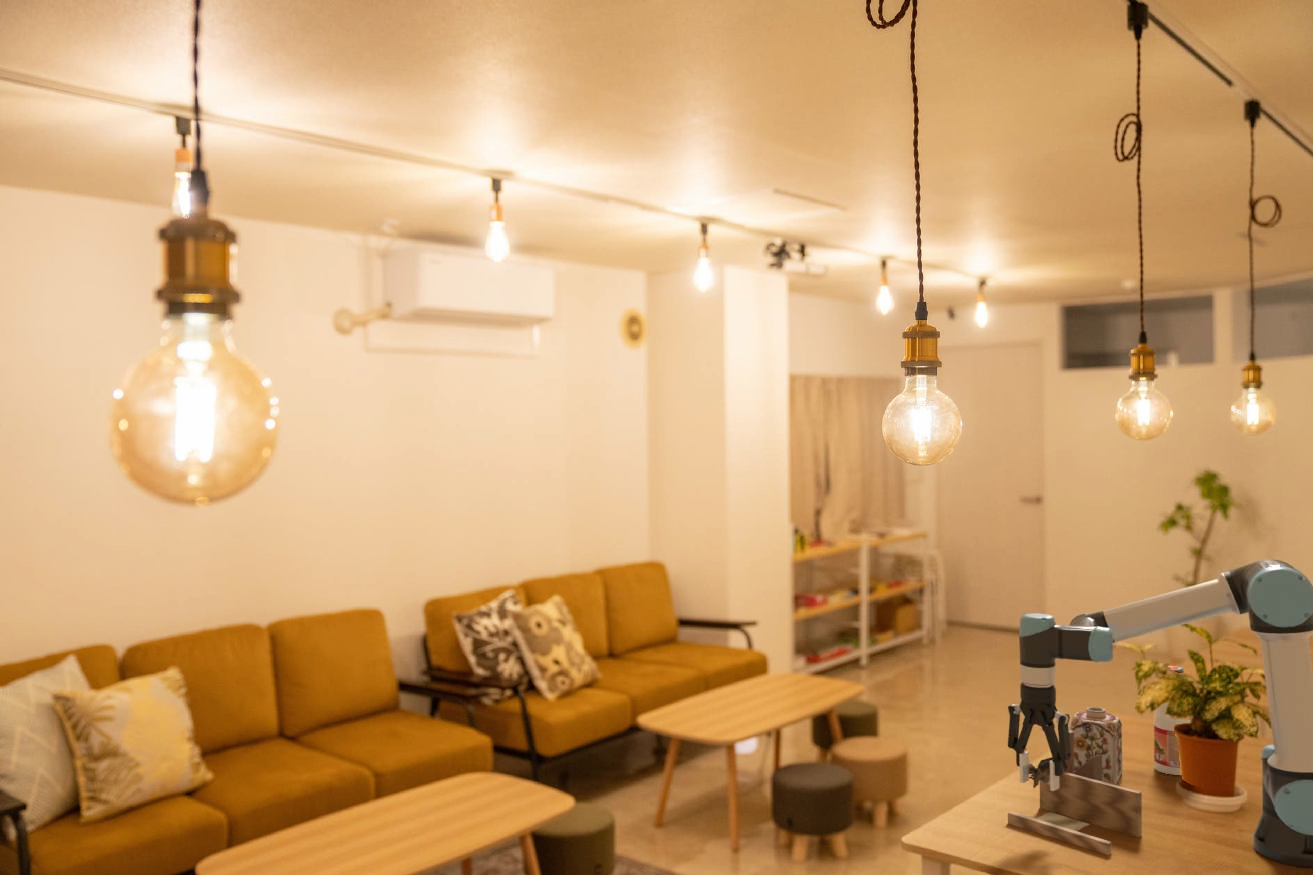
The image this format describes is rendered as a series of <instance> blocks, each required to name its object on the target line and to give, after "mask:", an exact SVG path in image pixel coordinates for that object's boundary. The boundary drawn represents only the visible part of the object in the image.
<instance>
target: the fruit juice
mask: <svg viewBox="0 0 1313 875" xmlns="http://www.w3.org/2000/svg"><path fill="white" fill-rule="evenodd" d="M1167 666H1168V667H1170V669H1171V670H1173V671H1175V672H1177V673H1179V674H1183V675H1184V668H1183V667H1181V666H1176V665H1167ZM1166 708H1167V705H1166V704H1163V705H1162V706H1160V707H1159V708H1158V709H1157V708H1156V712H1154V718H1153V720H1154V721H1153V728H1154V729H1153V734H1154V735H1153V736H1154V737H1153V738H1154V740H1153V742H1154V743H1153V744H1154V745H1153V747H1154V748H1153V749H1154V750H1153V751H1154V752H1153V755H1154V756H1153V757H1154V759H1153V762H1154V763H1153V764H1154V769H1155V771H1157V772H1159V773H1161V772H1162V773H1161V774H1163V773H1165V774H1164V775H1167V774H1173V775H1180V761H1179V745H1178V740H1177V737H1176V736H1175V732H1174V725H1175V724H1182V723H1190V720H1183V719H1177V720H1174V719H1172V718H1170V717H1167V716H1166V714H1165V713H1166Z"/></svg>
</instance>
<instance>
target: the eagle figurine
mask: <svg viewBox="0 0 1313 875" xmlns="http://www.w3.org/2000/svg"><path fill="white" fill-rule="evenodd" d="M1051 760H1053V757H1048V758H1047V757H1046V758H1045V759H1041V760H1040V761H1039V763H1038V765H1037V767H1035V766H1034V765H1033V764H1032V763H1029V764H1026V765H1024V766H1023V771H1024V773H1025V774H1029V775H1030V776H1029V780H1030V779H1031V780H1033V785H1032V787H1033V788H1032V789H1035V788H1036V787H1037V786H1038V785H1040V780H1041V781H1043V782H1045V783H1047V784H1048V785H1049V786H1050V777H1049V775H1050V761H1051ZM1067 767H1068V766H1067V765H1066V762H1065V761H1063V773H1064V772H1066V770H1067Z"/></svg>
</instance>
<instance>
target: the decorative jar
mask: <svg viewBox="0 0 1313 875" xmlns="http://www.w3.org/2000/svg"><path fill="white" fill-rule="evenodd" d="M1122 726H1123V723H1122V722H1121V719H1120V718H1119V717H1117V716H1115V715H1113V714H1111V713H1107V712H1106V709H1105V708H1103V707H1096V706H1090V707H1089V706H1088V707H1086V709H1085V710H1084V711H1076V712H1074V714H1073V715H1072V718H1071V722H1070V726H1069V730H1072V731H1074V772H1075V771H1076V770H1077V769H1078V768H1080V767H1081V766H1082V765H1083V764H1085V763H1086V762H1087V761H1088V760H1089V759H1091V758H1092V757H1094V756H1097V755H1101V754H1102V782H1106V783H1109V784H1113V785H1117V784H1118V782H1119V781H1120V778H1121V776H1122V774H1123V729H1122V728H1123V727H1122Z"/></svg>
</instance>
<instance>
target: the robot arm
mask: <svg viewBox="0 0 1313 875" xmlns="http://www.w3.org/2000/svg"><path fill="white" fill-rule="evenodd" d="M1229 613H1234V614H1236V615H1238V616H1240V615H1244V614H1247V613H1248V619H1249V627H1250V632H1252V633H1253V634H1254V635H1256V636H1257V637H1258V638H1259V641H1260V648H1261V649H1260V650H1261V656H1262V657H1261V658H1262V664H1263V665H1262V666H1263V671H1264V672H1263V673H1264V680H1265V687H1266V696H1267V702H1268V712H1269V717H1270V718H1269V719H1270V726H1271V734H1272V741H1273V742H1272V743H1273V744H1267V745H1265V746H1264V747H1262V755H1261V757H1260V759H1261V761H1262V763H1261V765H1262V769H1261V770H1262V771H1261V772H1262V774H1261V778H1262V780H1261V782H1262V784H1261V786H1262V789H1261V790H1262V800H1261V802H1262V804H1261V805H1262V806H1261V807H1262V811H1261V815H1260V818H1259V820H1258V822H1257V825H1256V828H1255V830H1254V833H1253V836H1252V838H1253V840H1252V842H1253V844H1252V845H1253V846H1252V847H1253V849H1254V850H1255V851H1256V852H1257V853H1259V854H1260V855H1262V856H1264V857H1266V858H1268V859H1271V860H1273V861H1276V862H1280V863H1283V864H1286V865H1292V866H1297V867H1304V868H1313V663H1312V655H1311V648H1310V642H1309V639H1310V637H1311V635H1312V634H1313V584H1312V583H1311V581H1310V580H1309V578H1308V577H1307V576H1306V575H1305V574H1304V573H1302V572H1301V571H1300V570H1298V569H1296V568H1295V567H1293V566H1292V565H1290V564H1289V563H1287V562H1285V561H1282V560H1279V559H1275V558H1271V559H1270V558H1268V559H1267V558H1266V559H1261V560H1257V561H1254V562H1251V563H1248V564H1245V565H1243V566H1240V567H1237V568H1234V569H1230V570H1227V571H1223V572H1221V573H1220V575H1219V576H1218V577H1217V578H1215V579H1213V580H1209V581H1205V582H1202V583H1198V584H1194V585H1190V586H1187V587H1184V588H1179V589H1176V590H1173V591H1169V592H1165V593H1162V594H1157V595H1154V596H1150V597H1148V598H1143V599H1141V600H1137V601H1133V602H1129V603H1127V604H1122V605H1119V606H1115V607H1112V608H1107V609H1105V610H1101V611H1096V612H1094V613H1085V612H1084V613H1080V614H1078V615H1076V616H1075V617H1073V618H1072V620H1071V621H1070V622H1069V625H1065V624H1058V623H1056V620H1055V617H1054V616H1053V615H1051V614H1048V613H1047V614H1046V613H1040V612H1039V613H1037V612H1035V613H1026V614H1023V615H1022V616H1021V617H1019V618H1020V619H1019V635H1018V639H1019V640H1018V642H1019V643H1018V644H1019V681H1021V683H1020V685H1019V686H1020V689H1019V690H1020V691H1019V692H1020V693H1019V694H1020V699H1021V700H1020V702H1019V704H1017V703H1013V704H1010V705H1008V706H1007V709H1008V714H1009V722H1008V723H1009V724H1008V725H1009V726H1008V736H1007V746H1008V749H1012V750H1014V751H1015V756H1016V757H1015V758H1016V760H1015V761H1016V762H1015V763H1016V764H1015V765H1016V767H1019V783H1021V784H1025V783H1027V782H1029V781H1030V778H1029V777H1030V776H1029V775H1030V774H1025V773H1024V771H1023V766H1024V765H1026V764H1030V762H1029V757H1030V756H1029V753H1030V752H1029V751H1027V748H1026V747H1027V745H1028V742H1029V739H1030V736H1031V733H1032V731H1033V728H1034V726H1035V725H1037V726H1039V727H1041V730H1042V731H1043V733H1044V735H1045V738H1046V741H1047V745H1048V747H1049V750H1050V754H1051V756H1052V757H1053V760H1051V761H1050V790H1051V791H1055V790H1057V789H1059V776H1061V775H1062V773H1063V761H1066V760H1068V759H1070V758H1071V748H1070V739H1069V730H1070V728H1069V722H1070V715H1069V713H1066V714H1064V713H1061V712H1059V711H1058V709H1057V706H1056V703H1057V702H1056V701H1057V690H1056V689H1057V686H1056V685H1055V684H1056V682H1057V681H1056V680H1057V679H1056V678H1057V677H1056V659H1060V660H1073V661H1085V662H1094V663H1099V662H1106V663H1107V662H1111V661H1113V659H1114V643H1117V642H1121V641H1124V640H1128V639H1133V638H1136V637H1141V636H1144V635H1147V634H1148V635H1149V634H1151V633H1155V632H1159V631H1163V630H1167V629H1170V628H1174V627H1178V626H1179V627H1180V626H1183V625H1187V624H1189V623H1190V624H1191V623H1193V622H1198V621H1202V620H1206V619H1210V618H1213V617H1216V616H1220V615H1225V614H1229ZM1021 713H1022V714H1023V716H1024V719H1023V722H1022V727H1021V729H1020V722H1021V721H1020V720H1021ZM1054 719H1056V723H1057V731H1058V732H1057V733H1056V729H1055V728H1056V727H1055V726H1056V725H1055V723H1054ZM1020 730H1021V731H1020ZM1019 731H1020V732H1019ZM1019 733H1020V734H1019ZM1057 734H1058V736H1057ZM1059 744H1060V745H1059Z"/></svg>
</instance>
